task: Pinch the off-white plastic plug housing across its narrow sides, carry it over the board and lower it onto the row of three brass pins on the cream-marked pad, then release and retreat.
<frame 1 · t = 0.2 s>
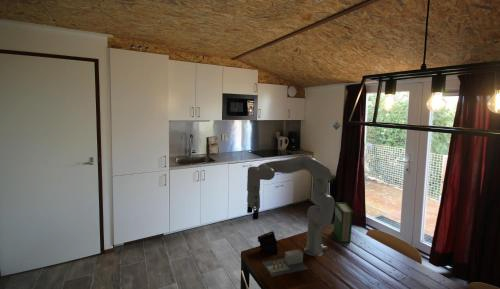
hand: (252, 215, 150), 31 cm above the table, fingers open, 9 cm apart
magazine: (267, 253, 167), on the table
hardback book: (341, 237, 192), on the table
plug: (293, 261, 156), point 1 cm above the table, touching board
board: (284, 267, 152), on the table
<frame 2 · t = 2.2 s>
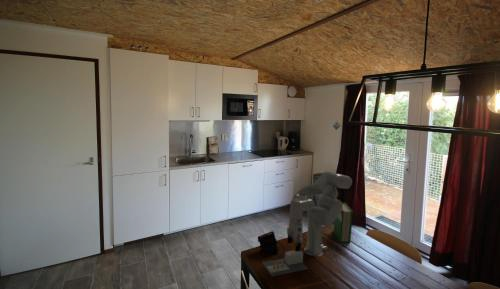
hand: (293, 246, 155), 11 cm above the table, fingers open, 9 cm apart
nothing on the table moved.
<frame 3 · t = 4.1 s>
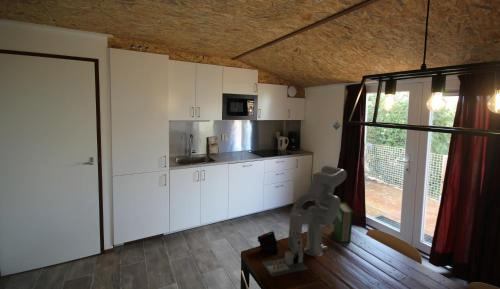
hand: (293, 260, 156), 2 cm above the table, fingers closed on plug, 4 cm apart
plug: (293, 261, 156), point 1 cm above the table, touching board, gripper
everything else where it was.
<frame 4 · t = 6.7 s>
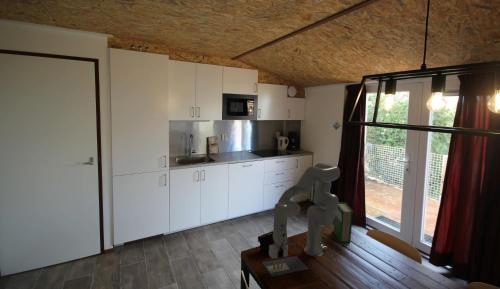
hand: (278, 254, 148), 10 cm above the table, fingers closed on plug, 4 cm apart
plug: (278, 255, 148), point 9 cm above the table, touching gripper
everything else where it was.
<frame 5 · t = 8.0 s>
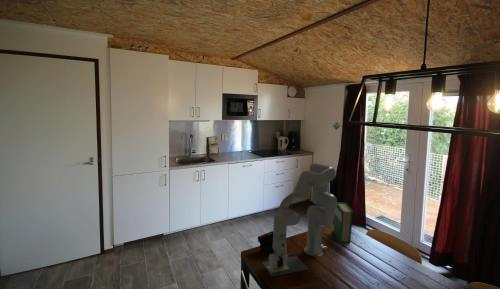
hand: (278, 263, 149), 4 cm above the table, fingers closed on plug, 4 cm apart
plug: (277, 264, 149), point 3 cm above the table, touching gripper
everything else where it was.
when the fingers open (3 cm above the table, at t = 9.3 s): plug stays where it is, resting on board.
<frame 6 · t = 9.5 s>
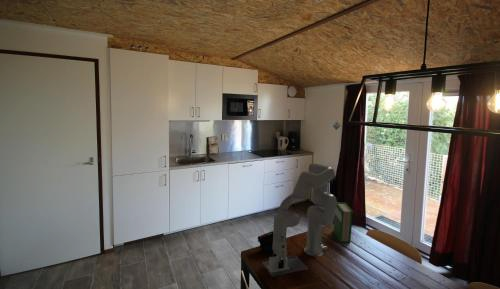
hand: (278, 264, 149), 3 cm above the table, fingers open, 6 cm apart
plug: (278, 267, 150), point 1 cm above the table, touching board
everything else where it was.
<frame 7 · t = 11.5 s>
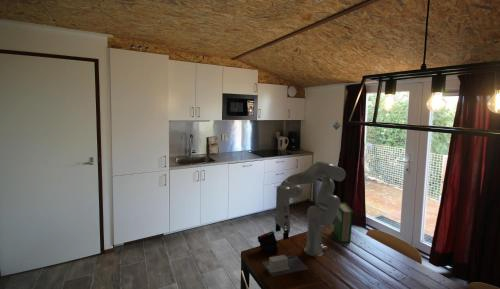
hand: (281, 234, 149), 21 cm above the table, fingers open, 9 cm apart
nothing on the table moved.
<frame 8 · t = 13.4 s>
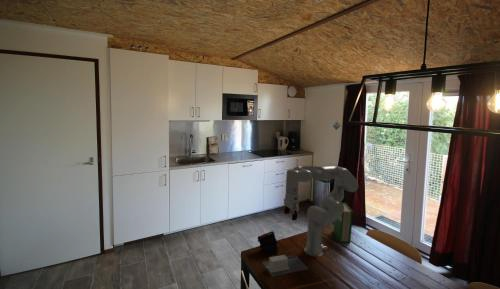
hand: (290, 216, 157), 28 cm above the table, fingers open, 9 cm apart
nothing on the table moved.
at the end: plug 0.0 cm from the target spot on the board, point 1.4 cm above the board's base; plug tilted 0°; the gripper is holding nothing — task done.
